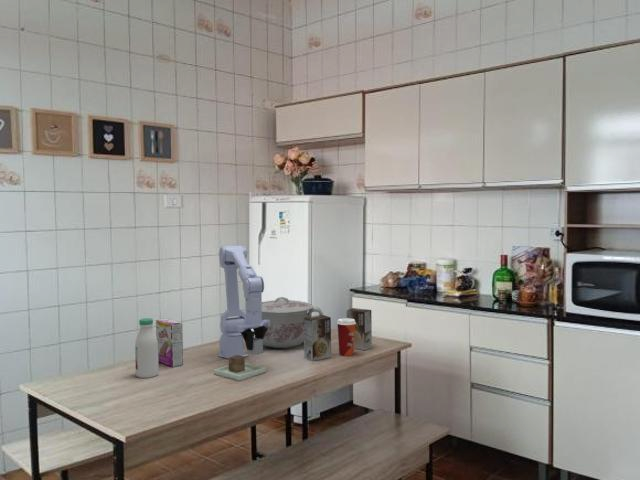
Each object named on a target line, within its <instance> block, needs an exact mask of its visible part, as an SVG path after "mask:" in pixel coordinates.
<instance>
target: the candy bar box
mask: <svg viewBox="0 0 640 480" xmlns="http://www.w3.org/2000/svg"><path fill="white" fill-rule="evenodd" d="M155 332H156V333H155V335H156V337H157V341H158V364H162V365H166V366H169V367H171V368H177V367H179V366H183V365H184V355H183V354H184V353H183V352H184V350H183V348H184V346H183V343H184V341H183V322H182V321H178V320H174V319H169V318H160V319H156V320H155Z"/></svg>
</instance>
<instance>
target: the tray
mask: <svg viewBox="0 0 640 480" xmlns="http://www.w3.org/2000/svg"><path fill="white" fill-rule="evenodd" d="M266 372H267V368H266V367H265V366H260V365H255V364H251V363H248V362H245V370H244V371H241V372H238V373H235V372H231V371H229V364H228V365H225V366H221V367H219V368H214V369H213V375H215V376H218V377H223V378H227V379H230V380H234V381H237V382H241V381H244V380H247V379H251V378H253V377H257V376H259V375H262V374H266Z"/></svg>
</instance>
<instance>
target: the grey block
mask: <svg viewBox="0 0 640 480" xmlns="http://www.w3.org/2000/svg"><path fill="white" fill-rule="evenodd" d="M263 348H264V346H263V339H260V338H255V337H254V338H253V349H252V350H247V349H246V354H248V355H252V356H257V355H260V354H263V353H264V350H263Z"/></svg>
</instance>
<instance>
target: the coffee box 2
mask: <svg viewBox="0 0 640 480" xmlns="http://www.w3.org/2000/svg"><path fill="white" fill-rule="evenodd" d="M346 318H351V319H354V320H355V322H356V324H355V336H354V350H360V351H367V350H369V349H372V348H373V345H372V344H373V343H372V341H373V339H372V337H373V336H372V331H373V329H372V325H373V324H372V323H373V321H372V309H366V308H355V307H352V308H350V309H346Z"/></svg>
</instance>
